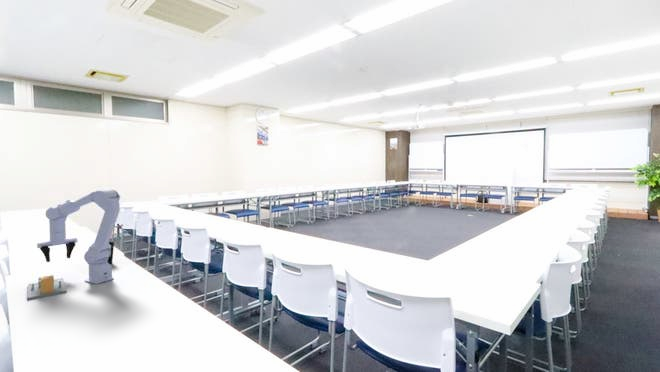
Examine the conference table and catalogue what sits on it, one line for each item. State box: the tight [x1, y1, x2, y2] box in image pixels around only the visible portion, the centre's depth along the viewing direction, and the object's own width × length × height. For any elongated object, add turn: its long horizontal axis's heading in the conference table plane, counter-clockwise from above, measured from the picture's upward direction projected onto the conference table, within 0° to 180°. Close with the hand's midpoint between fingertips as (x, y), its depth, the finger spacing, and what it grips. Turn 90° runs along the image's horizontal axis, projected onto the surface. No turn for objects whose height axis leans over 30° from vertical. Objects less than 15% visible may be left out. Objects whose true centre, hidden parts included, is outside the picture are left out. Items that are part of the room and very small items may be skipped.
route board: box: [27, 277, 68, 300], centre depth 135 cm, size 21×12×1 cm, turn 45°
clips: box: [31, 280, 61, 289], centre depth 135 cm, size 6×9×2 cm, turn 135°
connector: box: [40, 274, 55, 294], centre depth 130 cm, size 4×4×6 cm
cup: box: [107, 241, 115, 265], centre depth 173 cm, size 8×8×12 cm
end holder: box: [38, 274, 52, 287], centre depth 139 cm, size 7×5×2 cm
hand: (58, 259), depth 147 cm, fingers open, 7 cm apart
